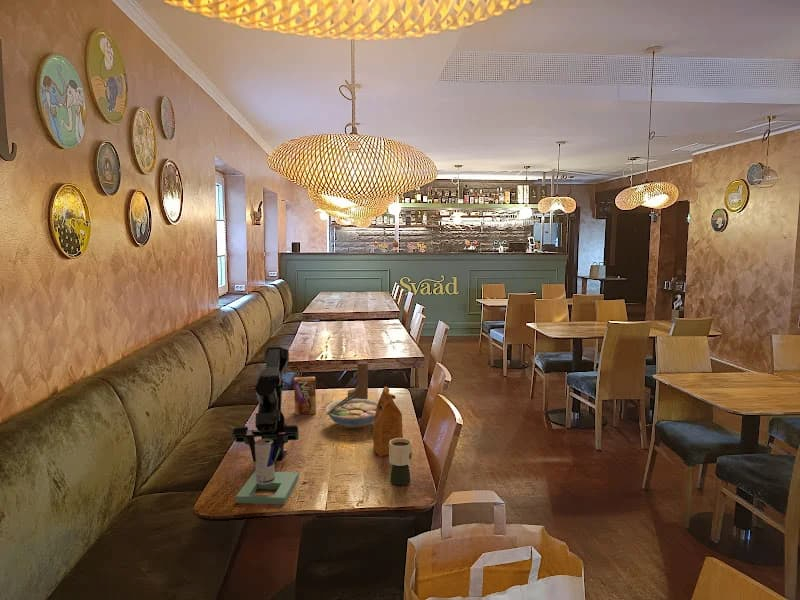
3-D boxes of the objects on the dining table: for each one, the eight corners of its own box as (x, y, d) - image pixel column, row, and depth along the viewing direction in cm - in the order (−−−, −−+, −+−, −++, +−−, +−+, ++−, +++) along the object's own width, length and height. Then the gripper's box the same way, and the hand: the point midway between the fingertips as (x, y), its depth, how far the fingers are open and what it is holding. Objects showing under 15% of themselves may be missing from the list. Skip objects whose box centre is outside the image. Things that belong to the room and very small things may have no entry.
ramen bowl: (368, 440, 199) (368, 419, 198) (313, 432, 207) (313, 412, 206) (392, 418, 222) (392, 399, 221) (342, 412, 230) (342, 393, 229)
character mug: (415, 489, 162) (415, 448, 160) (391, 491, 161) (391, 450, 159) (408, 473, 173) (408, 434, 171) (386, 475, 172) (386, 436, 170)
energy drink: (278, 479, 159) (277, 440, 157) (266, 486, 154) (265, 447, 153) (264, 475, 161) (263, 437, 160) (252, 482, 157) (250, 443, 155)
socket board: (254, 477, 169) (254, 471, 169) (298, 478, 169) (298, 472, 168) (236, 502, 154) (236, 496, 153) (284, 504, 153) (284, 498, 153)
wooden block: (347, 403, 242) (347, 364, 239) (347, 399, 246) (347, 361, 244) (367, 402, 243) (367, 363, 240) (367, 399, 247) (367, 361, 245)
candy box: (316, 410, 232) (315, 376, 230) (316, 414, 227) (315, 378, 225) (294, 411, 230) (294, 376, 228) (294, 415, 226) (293, 379, 224)
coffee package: (398, 442, 198) (398, 384, 195) (404, 456, 186) (405, 394, 183) (371, 444, 196) (371, 385, 193) (376, 458, 184) (376, 396, 181)
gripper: (232, 400, 157) (226, 452, 148) (297, 398, 159) (295, 449, 150) (238, 416, 166) (232, 466, 157) (299, 414, 168) (297, 463, 159)
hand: (264, 461), depth 156 cm, fingers closed on energy drink, 5 cm apart
